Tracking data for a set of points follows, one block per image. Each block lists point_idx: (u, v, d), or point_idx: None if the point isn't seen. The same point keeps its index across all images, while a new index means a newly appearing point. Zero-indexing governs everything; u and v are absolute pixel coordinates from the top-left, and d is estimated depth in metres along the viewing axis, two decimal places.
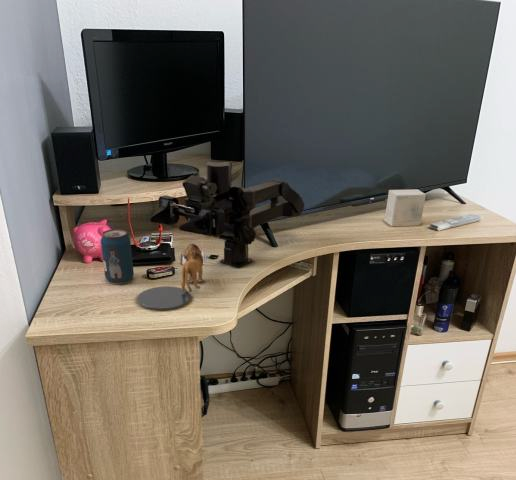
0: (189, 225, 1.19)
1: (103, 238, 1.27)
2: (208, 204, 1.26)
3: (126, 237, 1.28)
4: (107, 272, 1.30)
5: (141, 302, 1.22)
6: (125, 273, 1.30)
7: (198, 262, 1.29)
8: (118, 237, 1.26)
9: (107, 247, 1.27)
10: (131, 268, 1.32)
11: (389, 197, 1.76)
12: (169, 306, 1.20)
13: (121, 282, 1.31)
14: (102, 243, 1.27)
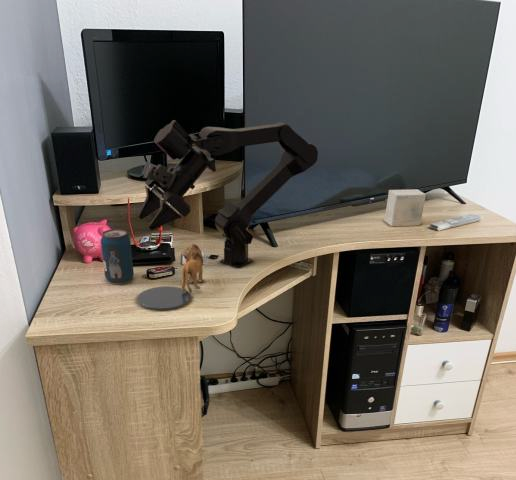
0: (157, 221, 1.26)
1: (103, 238, 1.27)
2: (171, 182, 1.26)
3: (126, 237, 1.28)
4: (107, 272, 1.30)
5: (141, 302, 1.22)
6: (125, 273, 1.30)
7: (198, 262, 1.29)
8: (118, 237, 1.26)
9: (107, 247, 1.27)
10: (131, 268, 1.32)
11: (389, 197, 1.76)
12: (169, 306, 1.20)
13: (121, 282, 1.31)
14: (102, 243, 1.27)
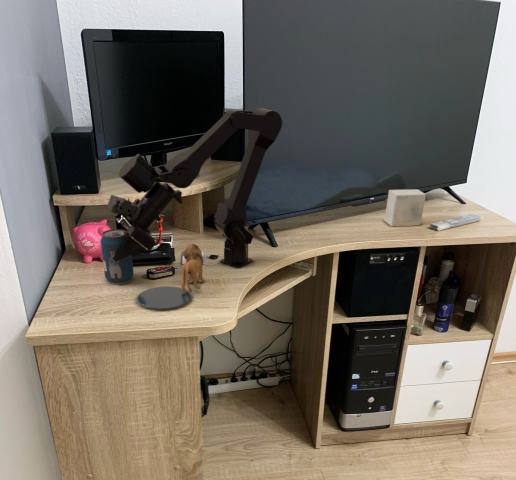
0: (121, 253, 1.27)
1: (103, 238, 1.27)
2: (136, 215, 1.26)
3: None
4: (107, 272, 1.30)
5: (141, 302, 1.22)
6: (125, 273, 1.30)
7: (198, 262, 1.29)
8: (118, 237, 1.26)
9: (107, 247, 1.27)
10: (131, 268, 1.32)
11: (389, 197, 1.76)
12: (169, 306, 1.20)
13: (121, 282, 1.31)
14: (102, 243, 1.27)
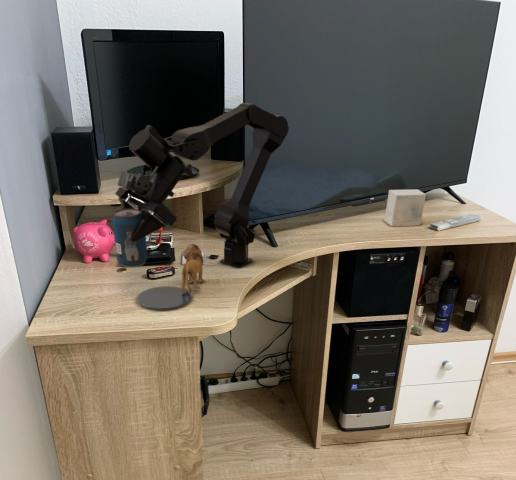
0: (139, 232, 1.19)
1: (117, 218, 1.18)
2: (151, 191, 1.19)
3: (140, 216, 1.20)
4: (122, 255, 1.22)
5: (141, 302, 1.22)
6: (142, 254, 1.23)
7: (198, 262, 1.29)
8: (134, 216, 1.18)
9: (123, 228, 1.18)
10: (146, 249, 1.24)
11: (389, 197, 1.76)
12: (169, 306, 1.20)
13: (137, 264, 1.24)
14: (116, 224, 1.19)
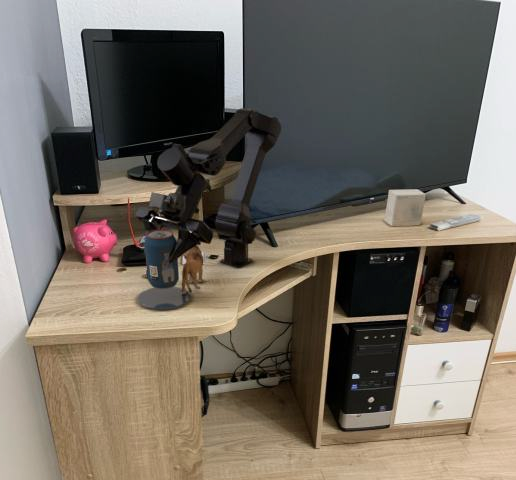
0: (176, 253, 1.17)
1: (153, 241, 1.15)
2: (183, 210, 1.17)
3: (173, 235, 1.18)
4: (158, 278, 1.19)
5: (141, 302, 1.22)
6: (177, 274, 1.21)
7: (198, 262, 1.29)
8: (170, 236, 1.16)
9: (161, 250, 1.16)
10: None
11: (389, 197, 1.76)
12: (169, 306, 1.20)
13: (173, 285, 1.21)
14: (153, 246, 1.15)
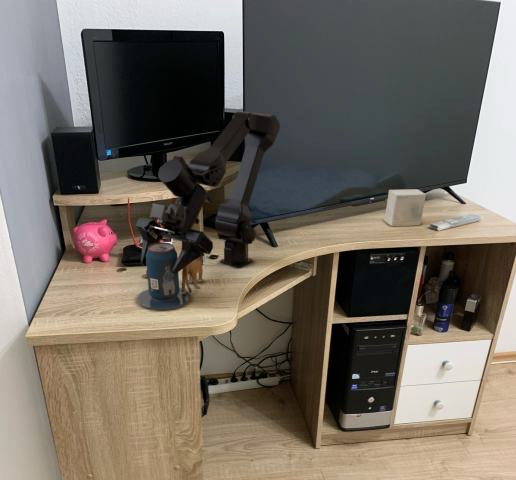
0: (180, 264, 1.18)
1: (154, 254, 1.17)
2: (184, 220, 1.18)
3: (174, 249, 1.20)
4: (159, 290, 1.20)
5: (141, 302, 1.22)
6: (177, 287, 1.22)
7: (198, 262, 1.29)
8: (171, 250, 1.18)
9: (162, 263, 1.17)
10: None
11: (389, 197, 1.76)
12: (169, 306, 1.20)
13: (173, 298, 1.23)
14: (154, 260, 1.17)
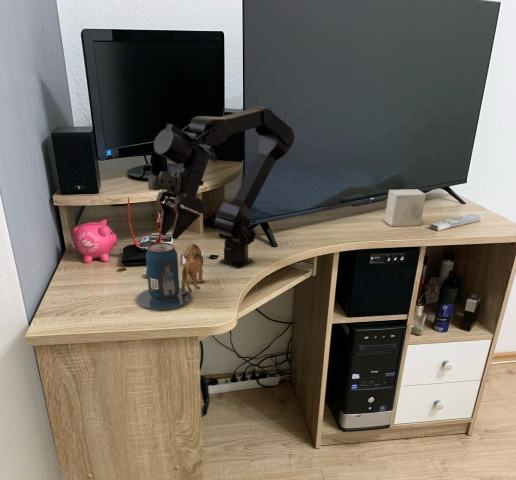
0: (178, 228, 1.21)
1: (154, 254, 1.17)
2: (179, 185, 1.21)
3: (174, 249, 1.20)
4: (159, 290, 1.20)
5: (141, 302, 1.22)
6: (177, 287, 1.22)
7: (198, 262, 1.29)
8: (171, 250, 1.18)
9: (162, 263, 1.17)
10: None
11: (389, 197, 1.76)
12: (169, 306, 1.20)
13: (173, 298, 1.23)
14: (154, 260, 1.17)
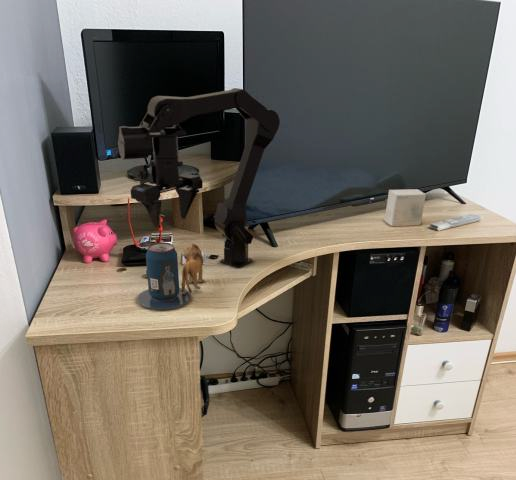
0: (153, 217, 1.28)
1: (154, 254, 1.17)
2: (150, 175, 1.26)
3: (174, 249, 1.20)
4: (159, 290, 1.20)
5: (141, 302, 1.22)
6: (177, 287, 1.22)
7: (198, 262, 1.29)
8: (171, 250, 1.18)
9: (162, 263, 1.17)
10: None
11: (389, 197, 1.76)
12: (169, 306, 1.20)
13: (173, 298, 1.23)
14: (154, 260, 1.17)
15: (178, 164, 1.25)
